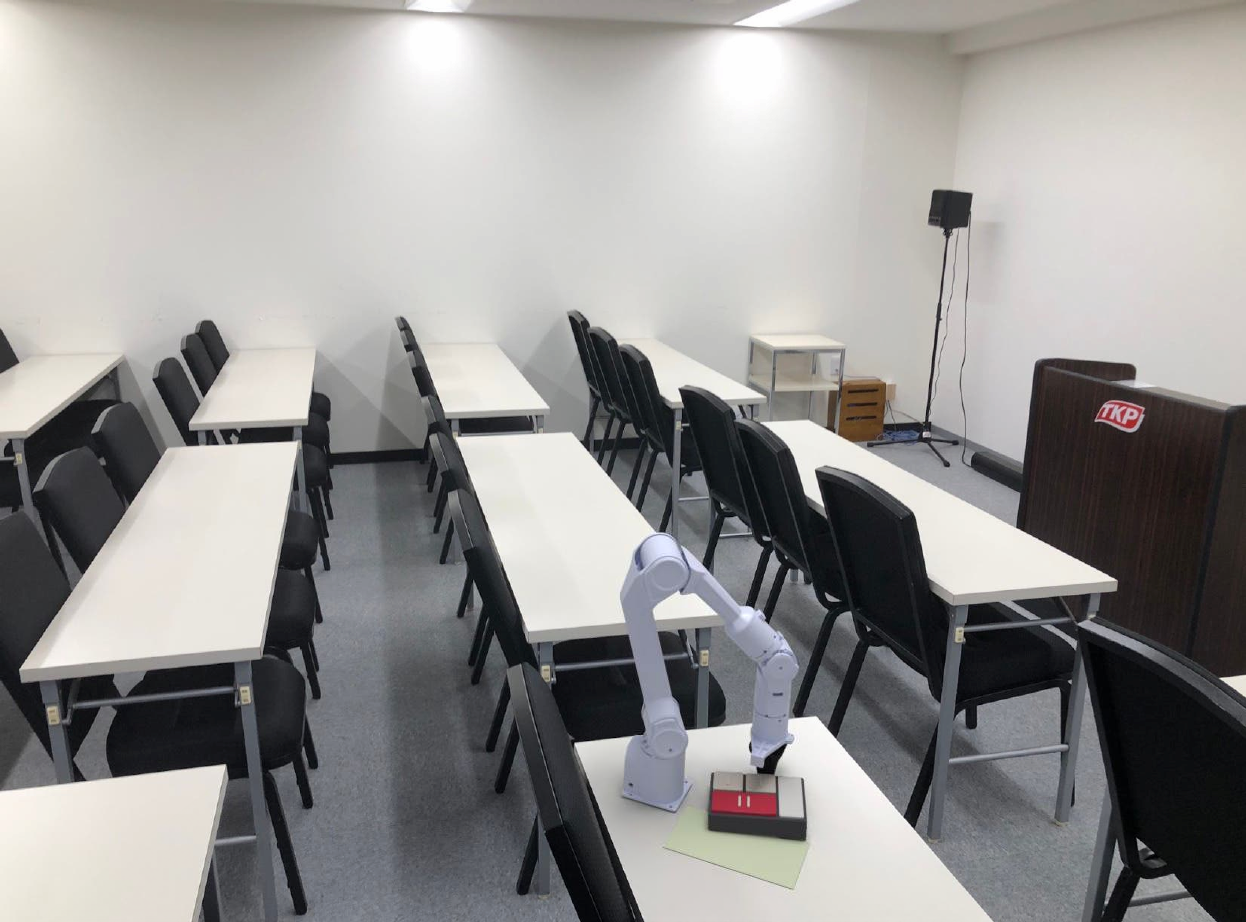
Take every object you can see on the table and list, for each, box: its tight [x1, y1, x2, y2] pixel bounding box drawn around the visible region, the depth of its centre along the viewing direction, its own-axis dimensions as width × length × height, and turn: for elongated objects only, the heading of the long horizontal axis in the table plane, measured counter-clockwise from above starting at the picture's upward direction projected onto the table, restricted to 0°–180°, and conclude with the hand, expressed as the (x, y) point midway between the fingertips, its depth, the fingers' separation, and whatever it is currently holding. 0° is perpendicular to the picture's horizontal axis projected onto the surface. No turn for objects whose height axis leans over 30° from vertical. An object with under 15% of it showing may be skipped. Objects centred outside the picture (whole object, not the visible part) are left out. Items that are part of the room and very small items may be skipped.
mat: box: [662, 805, 811, 890], centre depth 143 cm, size 20×10×1 cm, turn 66°
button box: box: [707, 770, 808, 841], centre depth 149 cm, size 11×4×15 cm
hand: (765, 779), depth 156 cm, fingers closed
